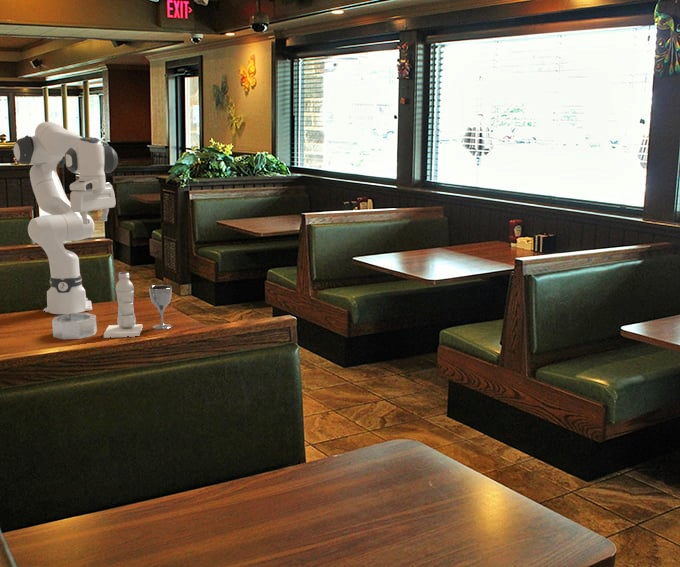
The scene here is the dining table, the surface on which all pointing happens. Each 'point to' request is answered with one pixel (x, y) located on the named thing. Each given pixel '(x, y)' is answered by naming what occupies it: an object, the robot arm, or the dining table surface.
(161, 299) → the wine glass
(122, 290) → the plastic bottle
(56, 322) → the steel collar
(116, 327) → the ceramic pad
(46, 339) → the dining table surface
